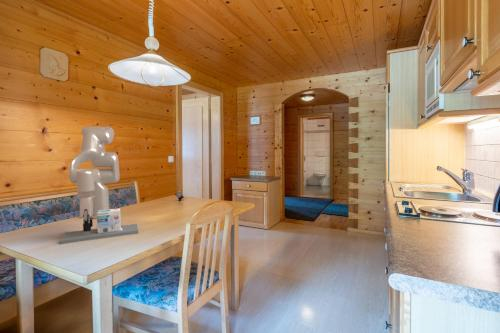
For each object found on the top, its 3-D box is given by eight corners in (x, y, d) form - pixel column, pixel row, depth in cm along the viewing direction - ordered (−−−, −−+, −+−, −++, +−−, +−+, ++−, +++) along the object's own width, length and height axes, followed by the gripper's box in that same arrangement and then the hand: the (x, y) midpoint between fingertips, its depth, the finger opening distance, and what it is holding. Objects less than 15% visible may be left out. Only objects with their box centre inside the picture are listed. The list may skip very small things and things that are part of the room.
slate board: (65, 235, 136) (65, 232, 136) (136, 226, 151) (136, 223, 151) (60, 244, 124) (59, 240, 124) (138, 233, 139) (138, 230, 139)
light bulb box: (97, 233, 134) (96, 212, 133) (98, 230, 140) (97, 210, 139) (120, 230, 138) (119, 210, 138) (121, 227, 144) (120, 207, 144)
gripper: (80, 192, 140) (82, 225, 141) (74, 197, 124) (76, 235, 125) (96, 191, 143) (98, 223, 144) (93, 196, 127) (94, 232, 128)
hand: (88, 228), depth 135 cm, fingers open, 6 cm apart
